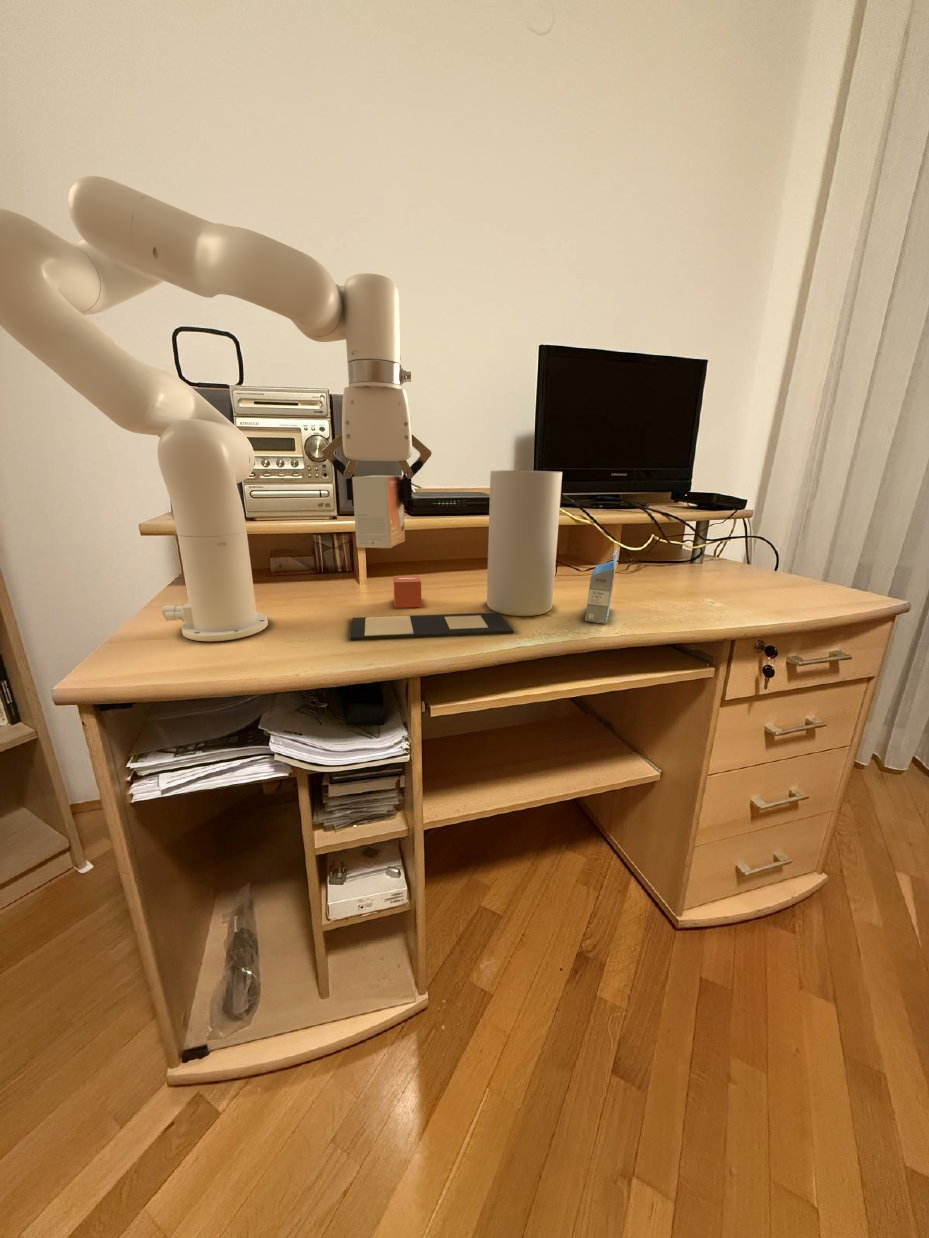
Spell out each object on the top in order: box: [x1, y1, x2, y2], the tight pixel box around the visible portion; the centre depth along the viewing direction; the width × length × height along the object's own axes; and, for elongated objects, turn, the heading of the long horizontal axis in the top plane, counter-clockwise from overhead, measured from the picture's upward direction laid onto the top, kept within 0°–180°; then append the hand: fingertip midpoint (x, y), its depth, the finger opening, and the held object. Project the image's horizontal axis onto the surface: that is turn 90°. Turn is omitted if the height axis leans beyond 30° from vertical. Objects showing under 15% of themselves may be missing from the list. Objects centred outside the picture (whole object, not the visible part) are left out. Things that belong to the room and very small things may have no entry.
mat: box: [349, 611, 514, 641], centre depth 82 cm, size 26×10×1 cm, turn 100°
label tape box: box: [584, 546, 619, 625], centre depth 87 cm, size 9×4×12 cm, turn 161°
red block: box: [392, 575, 423, 609], centre depth 94 cm, size 5×5×5 cm
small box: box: [352, 474, 406, 549], centre depth 76 cm, size 8×6×10 cm
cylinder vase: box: [486, 469, 563, 617], centre depth 90 cm, size 12×12×25 cm
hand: (380, 504), depth 76 cm, fingers closed on small box, 7 cm apart
